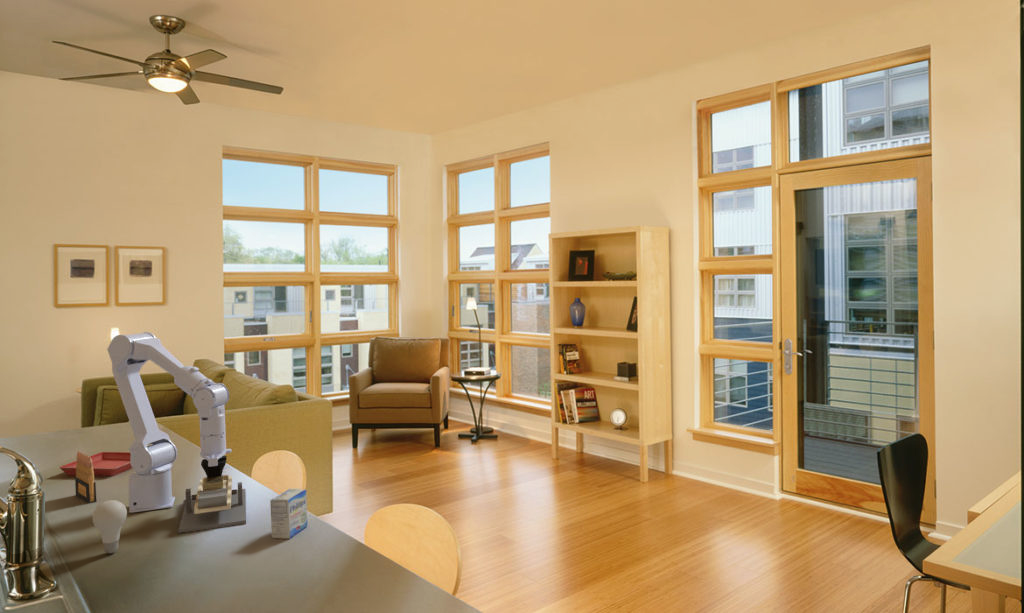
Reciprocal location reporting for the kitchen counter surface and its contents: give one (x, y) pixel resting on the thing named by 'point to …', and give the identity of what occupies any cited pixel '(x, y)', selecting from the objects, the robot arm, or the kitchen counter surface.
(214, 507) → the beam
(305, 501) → the medicine box
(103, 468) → the red tray
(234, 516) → the stand
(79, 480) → the ammunition clip
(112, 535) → the lightbulb
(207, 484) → the block
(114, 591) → the kitchen counter surface
